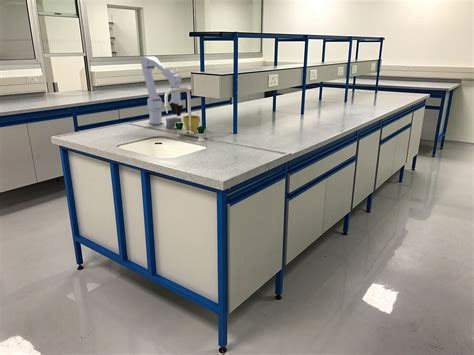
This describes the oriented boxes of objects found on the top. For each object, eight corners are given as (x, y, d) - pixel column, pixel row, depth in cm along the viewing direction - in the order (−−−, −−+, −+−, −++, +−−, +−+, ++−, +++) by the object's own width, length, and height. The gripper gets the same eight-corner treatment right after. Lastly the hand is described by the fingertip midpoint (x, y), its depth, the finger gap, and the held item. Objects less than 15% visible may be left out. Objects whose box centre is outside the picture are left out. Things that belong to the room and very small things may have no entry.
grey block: (166, 126, 247) (166, 117, 246) (178, 125, 251) (178, 116, 250) (169, 128, 243) (169, 119, 241) (181, 127, 247) (181, 118, 245)
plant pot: (189, 134, 226) (188, 118, 223) (180, 131, 233) (179, 116, 230) (203, 132, 232) (203, 117, 229) (194, 129, 240) (194, 114, 236)
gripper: (165, 93, 245) (166, 113, 250) (174, 95, 233) (174, 117, 238) (176, 92, 248) (176, 113, 253) (184, 95, 237) (185, 116, 241)
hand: (176, 115), depth 246 cm, fingers open, 7 cm apart
